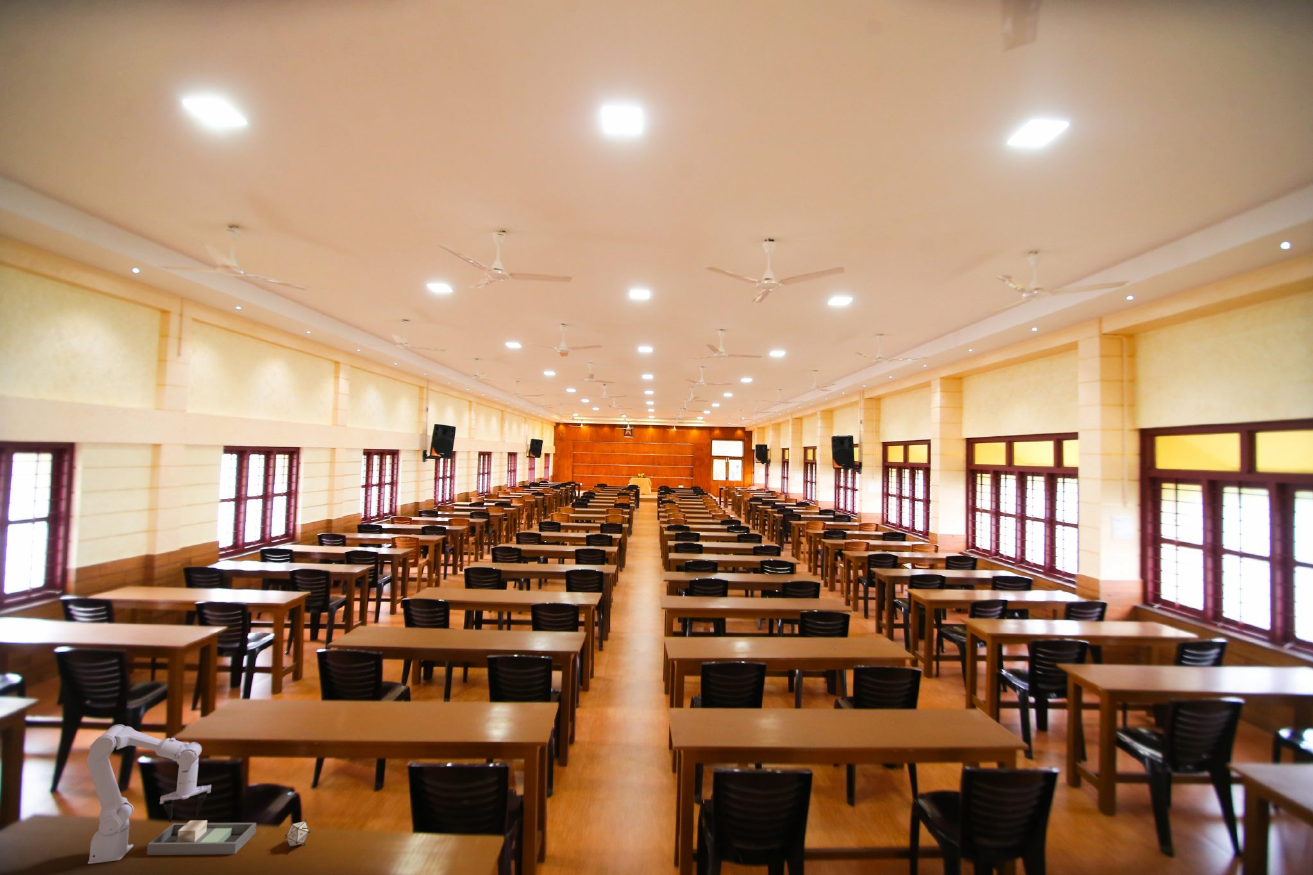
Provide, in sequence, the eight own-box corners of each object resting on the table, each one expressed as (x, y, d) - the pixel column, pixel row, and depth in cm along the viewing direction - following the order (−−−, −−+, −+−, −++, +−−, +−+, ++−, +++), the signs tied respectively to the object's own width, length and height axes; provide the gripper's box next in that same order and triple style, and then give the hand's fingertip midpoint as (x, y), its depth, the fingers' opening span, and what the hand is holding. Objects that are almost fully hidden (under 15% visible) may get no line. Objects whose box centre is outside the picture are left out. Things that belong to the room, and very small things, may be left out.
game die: (298, 857, 212) (299, 844, 207) (278, 847, 212) (277, 835, 207) (316, 832, 220) (317, 819, 215) (296, 822, 220) (297, 810, 215)
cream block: (177, 841, 209) (178, 830, 209) (189, 831, 215) (190, 820, 215) (194, 841, 209) (195, 830, 209) (206, 831, 215) (207, 820, 215)
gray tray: (146, 854, 205) (147, 844, 205) (172, 833, 217) (173, 823, 217) (234, 854, 207) (235, 843, 207) (255, 832, 219) (256, 822, 219)
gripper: (160, 790, 205) (156, 829, 204) (211, 778, 214) (208, 816, 213) (162, 780, 211) (159, 819, 210) (212, 770, 219) (209, 806, 219)
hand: (183, 817), depth 212 cm, fingers open, 7 cm apart
